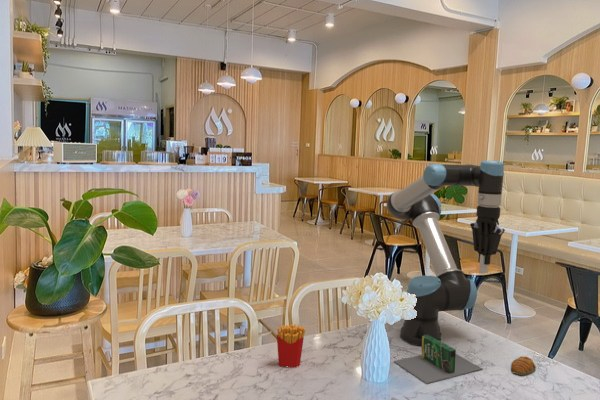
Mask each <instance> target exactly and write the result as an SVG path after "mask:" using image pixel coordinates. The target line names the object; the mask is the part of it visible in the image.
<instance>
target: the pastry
mask: <svg viewBox="0 0 600 400" xmlns="http://www.w3.org/2000/svg"><path fill="white" fill-rule="evenodd" d="M510 366H511V367H510V371H511V373H513V374H516V375H519V376H525V375H526V376H527V375H530V374H531V373H533V372H535V370H536V369H537V366H536V364H535V362H534V361H533V359H532V358H530V357H529V356H523V355H522V356H519V357H518V358H515V359H514V360H513V361H512V362H511V364H510Z"/></svg>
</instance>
